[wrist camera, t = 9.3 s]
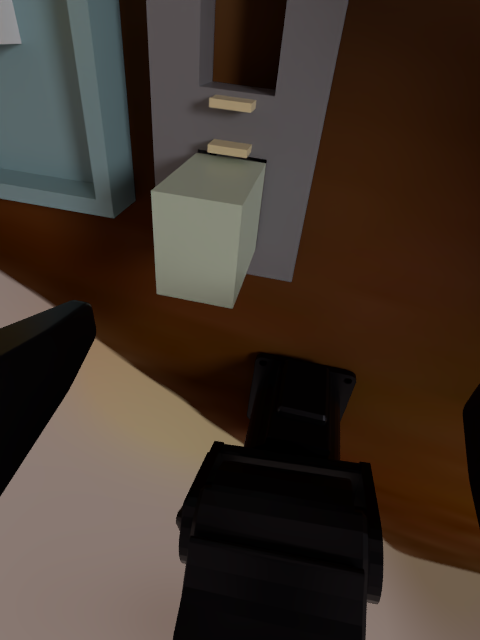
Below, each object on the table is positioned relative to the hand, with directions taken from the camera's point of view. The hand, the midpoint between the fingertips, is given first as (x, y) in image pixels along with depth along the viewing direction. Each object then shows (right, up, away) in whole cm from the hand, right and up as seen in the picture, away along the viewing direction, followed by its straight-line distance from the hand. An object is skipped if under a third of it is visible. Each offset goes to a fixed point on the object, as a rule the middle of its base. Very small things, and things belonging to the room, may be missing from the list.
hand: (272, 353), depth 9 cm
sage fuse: (-1, +7, +10) cm, 12 cm away
